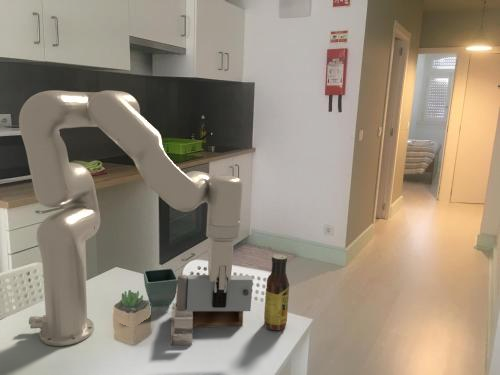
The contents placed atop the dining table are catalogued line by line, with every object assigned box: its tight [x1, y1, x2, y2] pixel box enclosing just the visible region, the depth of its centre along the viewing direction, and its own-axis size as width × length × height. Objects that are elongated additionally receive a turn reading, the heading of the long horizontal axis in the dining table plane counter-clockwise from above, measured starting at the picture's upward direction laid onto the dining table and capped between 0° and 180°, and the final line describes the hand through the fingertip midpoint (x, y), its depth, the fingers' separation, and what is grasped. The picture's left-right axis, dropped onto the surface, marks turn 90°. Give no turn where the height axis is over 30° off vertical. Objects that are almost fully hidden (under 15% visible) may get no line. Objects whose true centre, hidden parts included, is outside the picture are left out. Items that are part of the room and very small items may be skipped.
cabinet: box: [175, 293, 244, 328], centre depth 115 cm, size 18×8×7 cm, turn 97°
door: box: [176, 274, 254, 312], centre depth 98 cm, size 17×3×8 cm, turn 97°
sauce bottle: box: [263, 253, 290, 332], centre depth 112 cm, size 6×6×20 cm
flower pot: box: [143, 267, 178, 308], centre depth 123 cm, size 9×9×9 cm
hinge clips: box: [170, 302, 194, 346], centre depth 106 cm, size 5×8×7 cm, turn 7°
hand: (218, 303), depth 99 cm, fingers closed on door, 2 cm apart
